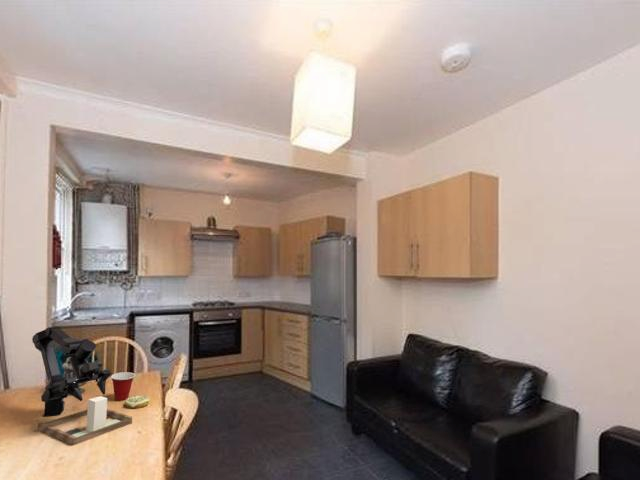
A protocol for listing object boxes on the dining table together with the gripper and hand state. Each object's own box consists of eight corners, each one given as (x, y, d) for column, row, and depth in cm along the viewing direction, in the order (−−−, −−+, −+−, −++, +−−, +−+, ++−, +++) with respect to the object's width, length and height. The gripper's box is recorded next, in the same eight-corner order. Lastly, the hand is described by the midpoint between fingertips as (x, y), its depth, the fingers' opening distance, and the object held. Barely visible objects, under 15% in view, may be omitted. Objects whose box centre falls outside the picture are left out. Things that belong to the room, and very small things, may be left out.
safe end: (64, 438, 142) (64, 437, 142) (116, 419, 160) (116, 419, 160) (75, 443, 138) (75, 442, 138) (127, 423, 156) (127, 422, 156)
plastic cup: (119, 404, 178) (120, 379, 179) (104, 400, 182) (106, 376, 183) (138, 397, 187) (140, 373, 188) (124, 394, 192) (125, 370, 193)
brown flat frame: (37, 429, 149) (38, 423, 149) (96, 410, 169) (97, 405, 170) (73, 445, 136) (73, 438, 136) (132, 423, 157) (132, 416, 157)
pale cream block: (86, 430, 149) (88, 399, 150) (98, 425, 153) (100, 396, 154) (93, 433, 146) (95, 401, 147) (105, 428, 150) (107, 398, 151)
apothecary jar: (86, 387, 202) (89, 354, 204) (87, 393, 192) (90, 358, 194) (59, 391, 195) (62, 356, 197) (59, 397, 185) (62, 361, 187)
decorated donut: (132, 411, 170) (132, 403, 171) (120, 406, 176) (121, 398, 177) (153, 404, 179) (153, 396, 179) (141, 400, 185) (141, 392, 185)
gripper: (65, 358, 148) (78, 391, 142) (110, 350, 164) (124, 379, 158) (53, 375, 151) (65, 408, 145) (99, 365, 167) (111, 395, 161)
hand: (93, 397), depth 152 cm, fingers open, 9 cm apart
